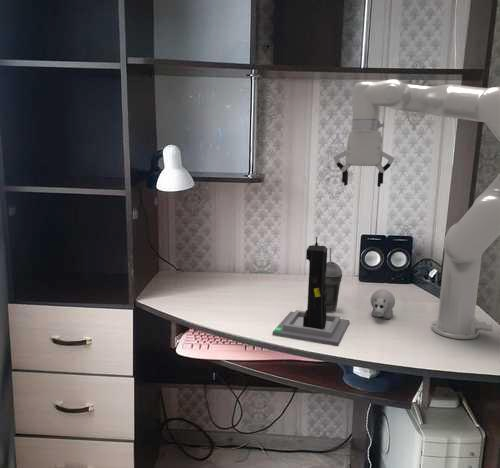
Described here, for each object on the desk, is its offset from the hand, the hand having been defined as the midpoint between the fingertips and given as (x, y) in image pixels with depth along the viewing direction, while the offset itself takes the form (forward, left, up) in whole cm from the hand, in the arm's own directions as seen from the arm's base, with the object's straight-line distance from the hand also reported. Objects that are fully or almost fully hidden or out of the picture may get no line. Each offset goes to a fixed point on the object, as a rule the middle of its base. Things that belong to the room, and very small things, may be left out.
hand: (362, 185), depth 146 cm
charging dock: (+9, +17, -40) cm, 44 cm away
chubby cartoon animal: (-8, 0, -40) cm, 41 cm away
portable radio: (+8, +17, -39) cm, 43 cm away
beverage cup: (+8, -1, -40) cm, 41 cm away
